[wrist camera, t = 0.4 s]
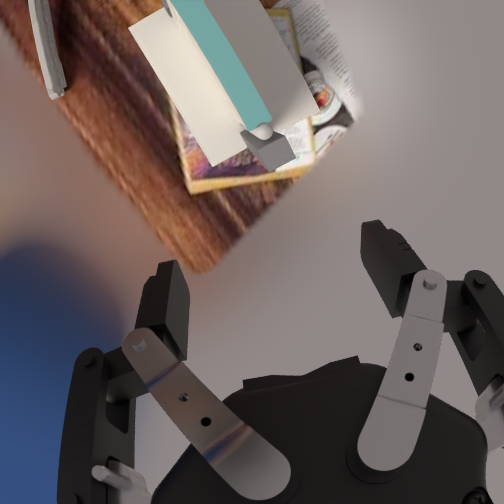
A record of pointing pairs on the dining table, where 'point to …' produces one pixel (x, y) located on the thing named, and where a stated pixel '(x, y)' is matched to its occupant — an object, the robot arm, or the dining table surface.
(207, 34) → the gate panel
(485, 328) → the robot arm
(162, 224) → the dining table surface
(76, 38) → the dining table surface
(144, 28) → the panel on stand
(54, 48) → the grey flat strip
